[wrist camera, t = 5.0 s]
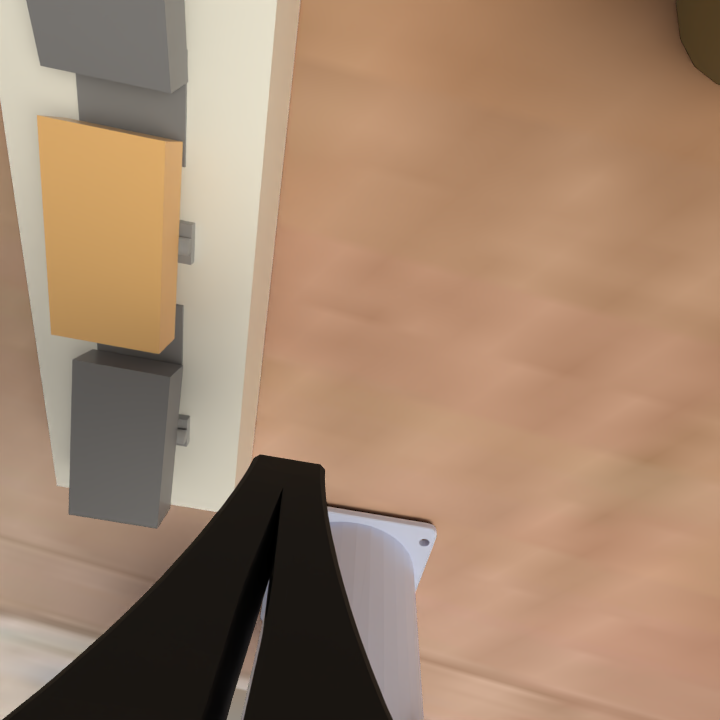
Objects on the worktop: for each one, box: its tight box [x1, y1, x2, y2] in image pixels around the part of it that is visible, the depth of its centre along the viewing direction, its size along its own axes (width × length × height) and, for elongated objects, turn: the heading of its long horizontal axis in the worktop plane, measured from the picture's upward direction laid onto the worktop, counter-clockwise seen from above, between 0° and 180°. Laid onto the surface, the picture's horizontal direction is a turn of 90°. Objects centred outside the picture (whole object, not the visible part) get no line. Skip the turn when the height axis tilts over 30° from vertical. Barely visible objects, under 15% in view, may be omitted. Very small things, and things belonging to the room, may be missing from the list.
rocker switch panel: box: [0, 0, 301, 512], centre depth 14 cm, size 28×7×4 cm, turn 169°
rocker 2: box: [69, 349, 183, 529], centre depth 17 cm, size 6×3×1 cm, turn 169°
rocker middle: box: [37, 115, 183, 354], centre depth 13 cm, size 6×3×1 cm, turn 169°
